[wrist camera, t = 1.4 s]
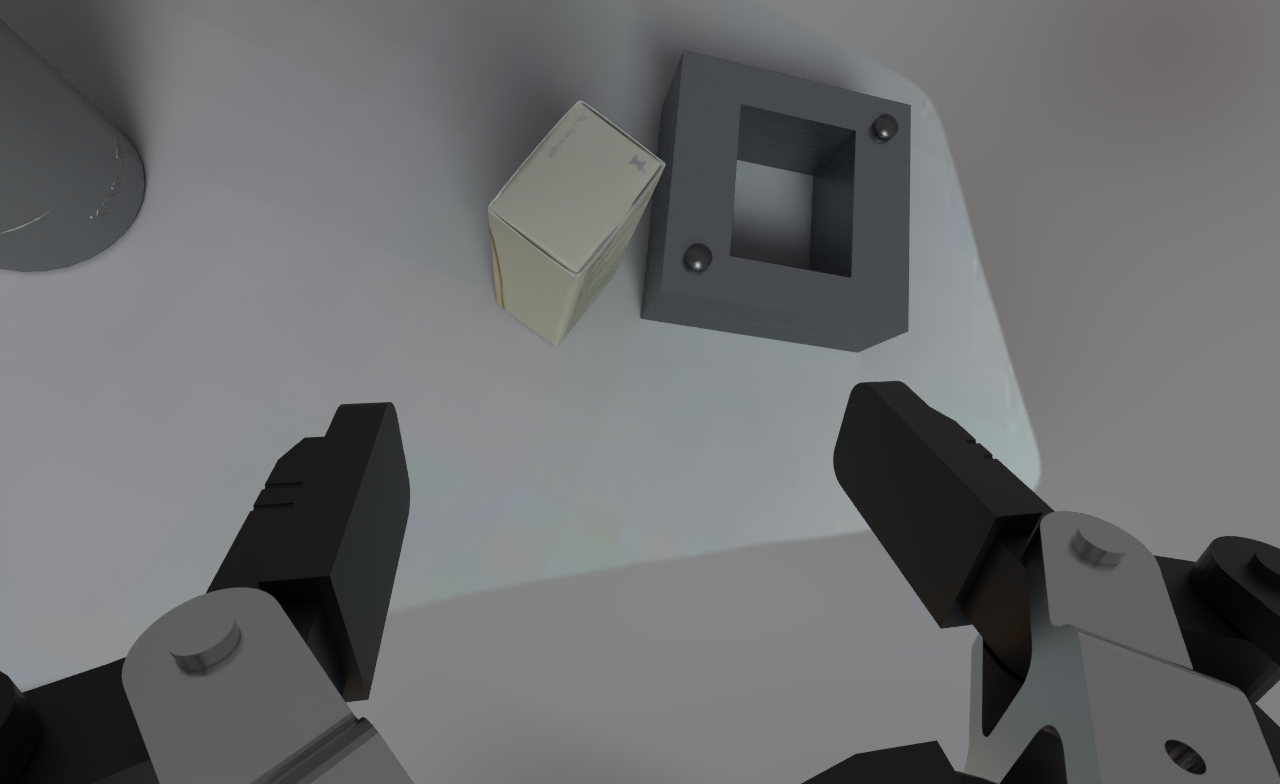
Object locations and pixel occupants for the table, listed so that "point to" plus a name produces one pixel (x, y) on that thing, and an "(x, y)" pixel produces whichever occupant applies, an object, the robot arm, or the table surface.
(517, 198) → the skincare box
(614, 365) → the table surface
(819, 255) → the housing
